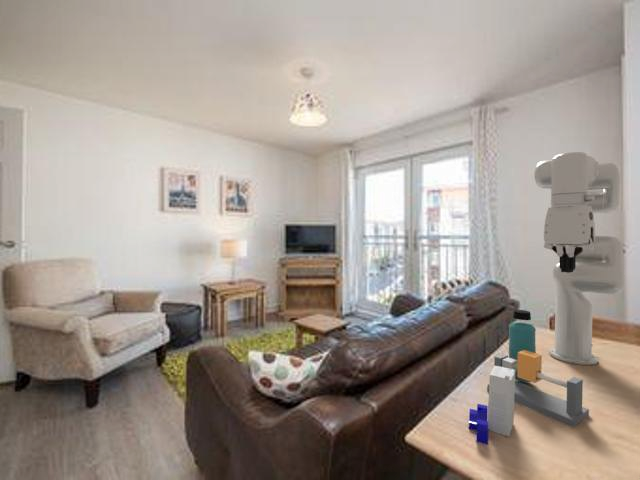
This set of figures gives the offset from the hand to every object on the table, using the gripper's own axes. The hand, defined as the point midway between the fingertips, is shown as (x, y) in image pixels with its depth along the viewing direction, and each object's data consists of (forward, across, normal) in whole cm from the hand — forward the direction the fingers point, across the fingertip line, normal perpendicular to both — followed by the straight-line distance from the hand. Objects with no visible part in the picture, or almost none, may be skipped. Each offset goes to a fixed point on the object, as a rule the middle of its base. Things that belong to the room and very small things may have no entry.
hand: (567, 271), depth 85 cm
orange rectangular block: (+26, +2, +14) cm, 29 cm away
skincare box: (+31, 0, +31) cm, 44 cm away
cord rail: (+31, +1, +14) cm, 34 cm away
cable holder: (+32, +2, +36) cm, 48 cm away
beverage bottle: (+31, +8, +6) cm, 33 cm away
